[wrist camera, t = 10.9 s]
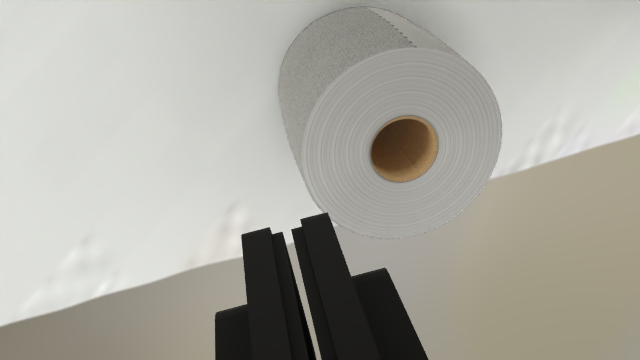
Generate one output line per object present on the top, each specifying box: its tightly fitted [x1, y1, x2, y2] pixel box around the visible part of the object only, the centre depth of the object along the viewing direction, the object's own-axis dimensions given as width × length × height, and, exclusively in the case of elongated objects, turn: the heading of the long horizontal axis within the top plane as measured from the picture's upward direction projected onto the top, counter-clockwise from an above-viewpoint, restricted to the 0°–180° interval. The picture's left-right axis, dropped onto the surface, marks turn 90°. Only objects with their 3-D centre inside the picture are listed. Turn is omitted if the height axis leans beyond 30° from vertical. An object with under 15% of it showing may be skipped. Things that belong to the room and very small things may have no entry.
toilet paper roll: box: [278, 7, 502, 239], centre depth 39 cm, size 12×12×12 cm
